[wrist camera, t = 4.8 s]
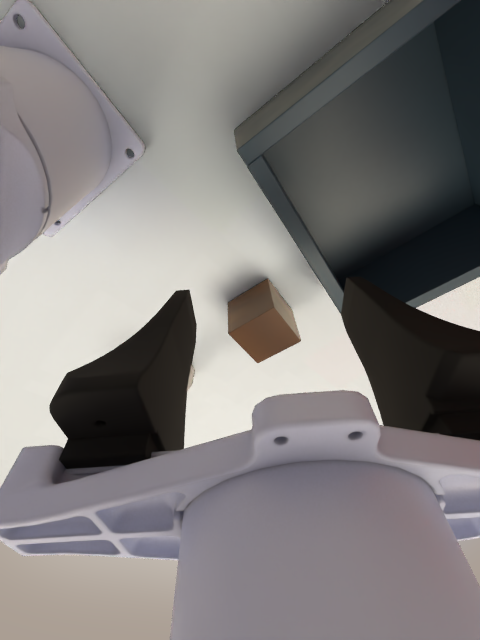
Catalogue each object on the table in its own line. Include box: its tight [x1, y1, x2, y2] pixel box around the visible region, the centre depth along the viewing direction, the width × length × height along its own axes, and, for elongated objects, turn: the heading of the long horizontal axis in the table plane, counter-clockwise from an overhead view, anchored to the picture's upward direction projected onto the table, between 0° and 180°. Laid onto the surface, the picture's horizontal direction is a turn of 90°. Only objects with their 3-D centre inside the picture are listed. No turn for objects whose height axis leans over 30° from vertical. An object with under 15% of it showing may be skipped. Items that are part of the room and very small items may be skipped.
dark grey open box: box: [234, 0, 480, 313], centre depth 18 cm, size 12×14×6 cm
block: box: [228, 279, 301, 363], centre depth 25 cm, size 4×4×4 cm
